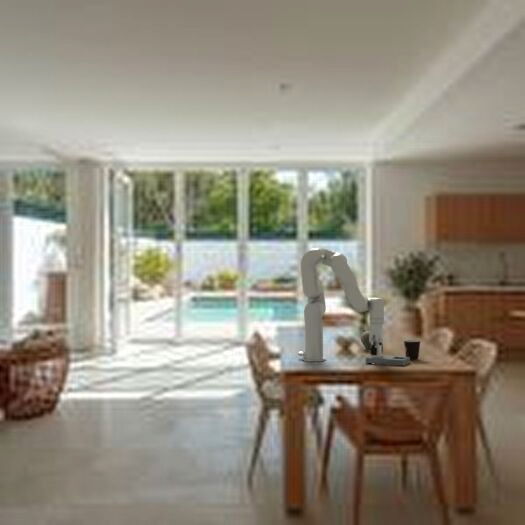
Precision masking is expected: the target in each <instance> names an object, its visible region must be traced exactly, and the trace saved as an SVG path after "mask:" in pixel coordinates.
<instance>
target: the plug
mask: <svg viewBox="0 0 525 525" xmlns="http://www.w3.org/2000/svg"><path fill="white" fill-rule="evenodd" d="M376 348H377V355H372V357H376V358H381V357H382V355H383V354H382V353H383V352H382V345H379V343H378V344H377V346H376Z"/></svg>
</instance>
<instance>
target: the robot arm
mask: <svg viewBox="0 0 525 525" xmlns="http://www.w3.org/2000/svg"><path fill="white" fill-rule="evenodd" d="M319 264H321V265H324V266H327V267H330V268H331V270H332V271H333V273H334V275H335V276H336V278H337V280H338V282H339V284H340V285H341V287H342V290H343V291H344V294H345V296H346V297H347V300H348V301H349V303H350V305H351V306H352V308H353V310H355V311H356V312H357V313H364V312H367V311H369V317H368V318H369V321H368V322H369V331H370V332H369V343H371V351H370V356H371V355H377V348H376V346H377V344H378V343H379V345H382V353H383V351H384V350H383V349H384V346H383V345H384V343H383V341H384V327H383V326H384V324H385V299H384V298H382V297H367V296H363V294H362V292H361V291H360V289H359V286H358V282H357V277H356V275H355V274H354V272H353V271H352V269H351V267H350V266H349V263H348V259H347V256H346V255H344V254H343V253H340V252H336V251H333V250H329V249H326V248H323V247H314V248H311V249H309V250H308V251H306V252H305V253H304V254H303V255H302V258H301V260H300V274H301V283H302V284H301V285H302V294H303V295H304V297H306V299H307V304H306V305H305V306H304V310H303V316H304V351H298V356H302V358H301V359H302V361H303V360H304V362H310V361H319V362H325V361H326V360H327V358H326V357H325V356H324V329H323V328H324V327H323V326H324V323H323V316H324V314H325V313H326V310H327V306H326V298H325V291H324V290H325V289H324V287H323V284H322V282H320V281H319V278H318V271H317V265H319Z"/></svg>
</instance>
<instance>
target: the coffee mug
mask: <svg viewBox="0 0 525 525" xmlns="http://www.w3.org/2000/svg"><path fill="white" fill-rule="evenodd" d="M403 343H404V352H405V357H410V361H417V360H416V359H418V360H419V355H420V347H421V340H419V339H404V340H403Z"/></svg>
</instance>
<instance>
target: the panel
mask: <svg viewBox="0 0 525 525" xmlns="http://www.w3.org/2000/svg"><path fill="white" fill-rule="evenodd" d="M409 362H410V363H411V360H410V357H406V356H400V355H385V354H382V357H381V358H376V357H372V355H371V354H370V355H369V356H367V357H366V358H365V364H366V363H374V364H373V365H379V364H389V365H388V366H395V365H404V364H406V365H408V364H409ZM407 363H408V364H407ZM404 366H405V365H404Z"/></svg>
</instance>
